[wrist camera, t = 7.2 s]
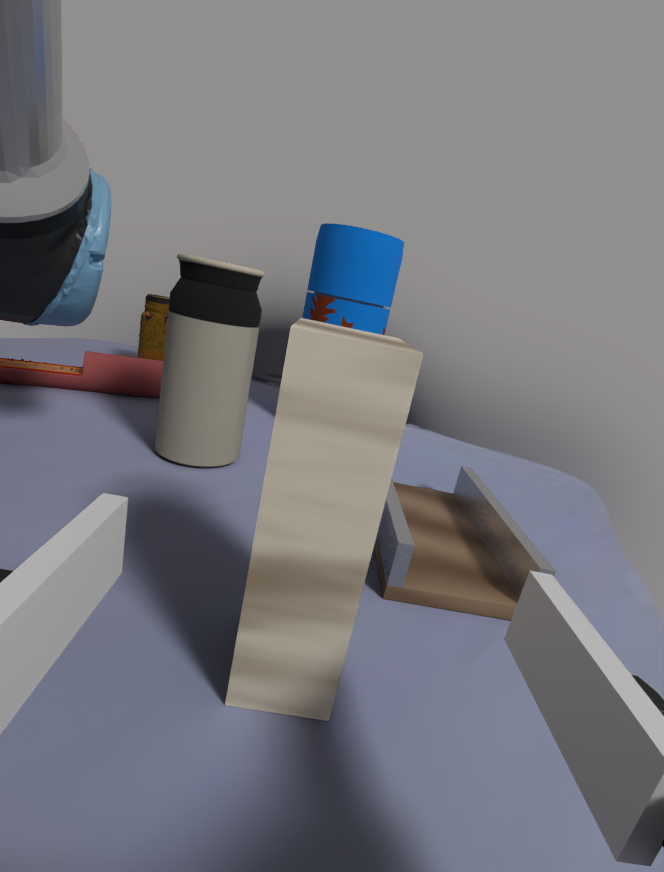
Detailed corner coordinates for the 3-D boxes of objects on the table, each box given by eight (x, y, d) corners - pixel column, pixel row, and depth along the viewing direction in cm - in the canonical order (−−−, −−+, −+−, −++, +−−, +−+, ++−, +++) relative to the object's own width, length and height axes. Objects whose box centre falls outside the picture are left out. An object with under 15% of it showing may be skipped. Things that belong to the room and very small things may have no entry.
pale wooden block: (328, 721, 20) (423, 354, 16) (224, 705, 20) (290, 326, 15) (328, 626, 26) (398, 338, 21) (248, 613, 26) (301, 318, 21)
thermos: (324, 413, 72) (360, 241, 65) (377, 437, 65) (422, 247, 58) (268, 415, 64) (301, 221, 57) (320, 443, 57) (365, 225, 50)
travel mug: (240, 473, 43) (272, 272, 38) (149, 464, 41) (170, 250, 36) (237, 444, 51) (263, 272, 46) (159, 435, 49) (178, 253, 44)
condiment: (155, 367, 79) (162, 294, 75) (197, 380, 76) (206, 305, 73) (122, 371, 72) (128, 290, 69) (167, 384, 69) (175, 302, 66)
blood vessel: (198, 397, 67) (202, 363, 66) (203, 407, 63) (207, 370, 62) (-203, 356, 50) (-209, 309, 49) (-235, 366, 46) (-242, 314, 45)
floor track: (534, 624, 30) (556, 571, 29) (383, 598, 29) (398, 542, 28) (460, 504, 47) (471, 467, 46) (363, 486, 47) (372, 448, 46)
